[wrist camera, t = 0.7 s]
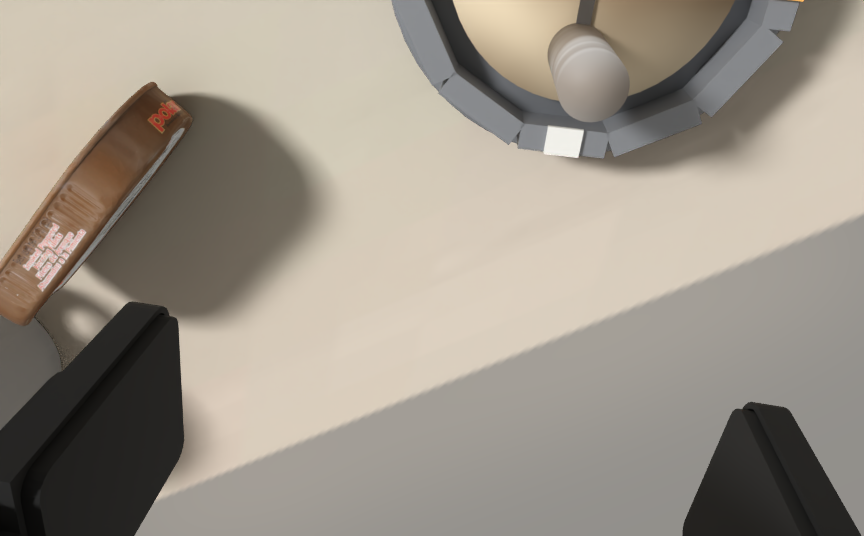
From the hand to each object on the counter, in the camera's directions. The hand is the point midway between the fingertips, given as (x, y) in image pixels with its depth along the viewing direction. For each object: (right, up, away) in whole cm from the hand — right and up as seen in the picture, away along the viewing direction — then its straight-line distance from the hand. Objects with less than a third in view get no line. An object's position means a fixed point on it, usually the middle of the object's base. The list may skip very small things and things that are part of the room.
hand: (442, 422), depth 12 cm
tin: (-17, +8, +27) cm, 33 cm away
